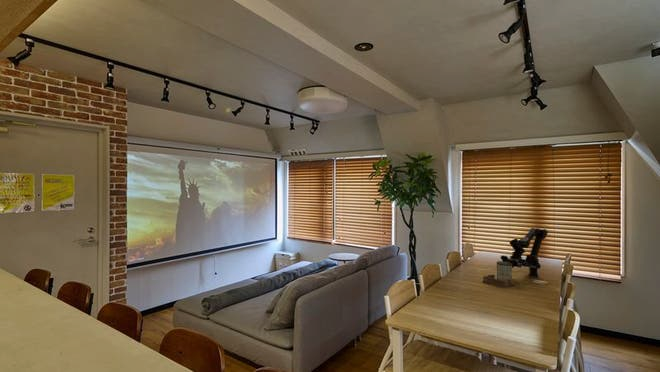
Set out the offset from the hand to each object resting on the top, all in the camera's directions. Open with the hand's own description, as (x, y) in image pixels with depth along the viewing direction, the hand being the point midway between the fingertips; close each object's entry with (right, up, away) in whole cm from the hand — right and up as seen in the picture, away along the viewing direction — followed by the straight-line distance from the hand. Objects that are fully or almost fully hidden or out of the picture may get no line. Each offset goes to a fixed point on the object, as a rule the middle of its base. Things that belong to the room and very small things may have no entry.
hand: (509, 269), depth 241 cm
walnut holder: (-11, -8, -6) cm, 15 cm away
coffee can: (-5, -8, -2) cm, 10 cm away
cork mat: (+19, -8, -7) cm, 22 cm away
